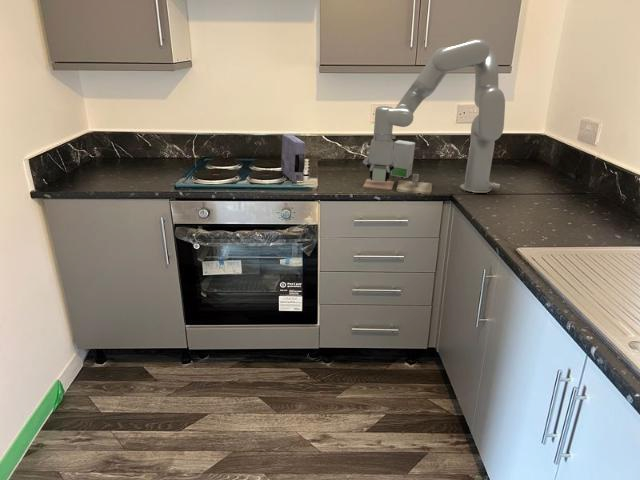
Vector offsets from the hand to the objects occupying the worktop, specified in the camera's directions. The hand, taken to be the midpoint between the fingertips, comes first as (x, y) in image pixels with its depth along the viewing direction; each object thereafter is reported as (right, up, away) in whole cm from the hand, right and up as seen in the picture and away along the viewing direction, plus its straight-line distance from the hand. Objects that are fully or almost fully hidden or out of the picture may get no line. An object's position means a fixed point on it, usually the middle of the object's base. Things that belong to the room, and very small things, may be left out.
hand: (379, 179), depth 211 cm
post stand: (+15, -4, -2) cm, 15 cm away
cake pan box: (-37, +2, +8) cm, 38 cm away
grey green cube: (0, 0, 0) cm, 0 cm away
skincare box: (+12, +4, +17) cm, 21 cm away
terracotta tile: (0, -2, +1) cm, 2 cm away
